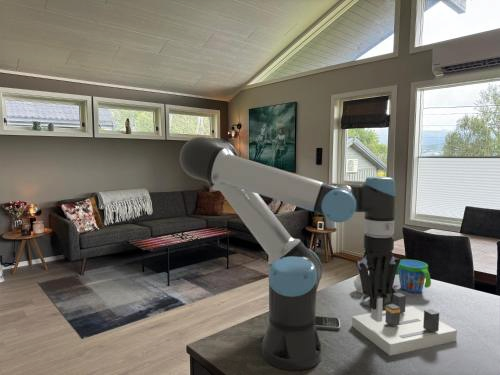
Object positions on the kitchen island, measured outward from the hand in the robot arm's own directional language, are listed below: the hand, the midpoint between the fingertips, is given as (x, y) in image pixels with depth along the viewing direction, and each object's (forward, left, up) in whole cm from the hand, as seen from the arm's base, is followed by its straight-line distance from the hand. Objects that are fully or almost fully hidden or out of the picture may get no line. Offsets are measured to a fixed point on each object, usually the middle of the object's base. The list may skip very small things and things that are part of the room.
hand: (376, 319), depth 94 cm
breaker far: (+13, +6, -2) cm, 15 cm away
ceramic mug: (+16, +19, -6) cm, 25 cm away
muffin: (+17, +29, -6) cm, 34 cm away
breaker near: (+13, -6, -2) cm, 14 cm away
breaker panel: (+9, 0, -6) cm, 11 cm away
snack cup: (+36, +25, -6) cm, 44 cm away
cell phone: (-10, +12, -6) cm, 17 cm away
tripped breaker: (+6, 0, -2) cm, 6 cm away
